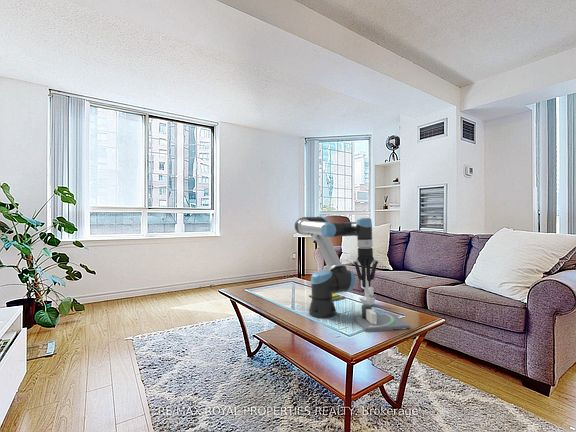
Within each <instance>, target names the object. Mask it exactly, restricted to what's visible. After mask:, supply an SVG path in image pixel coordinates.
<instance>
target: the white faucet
mask: <svg viewBox="0 0 576 432" xmlns="http://www.w3.org/2000/svg"><path fill="white" fill-rule="evenodd" d="M360 288H361V289H362V290H364V287H363V286H362V280H360ZM374 295H375V294H374V287H373V286H371V285H370V287H369V294H365V293H364V296H362V297H359V298H358V299H359V301H360V302H361V304H362V305H365V304H367V305H371V306H372V305H374V303H375V301H376V300H377V299H376V298H374V297H373V296H374Z"/></svg>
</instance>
